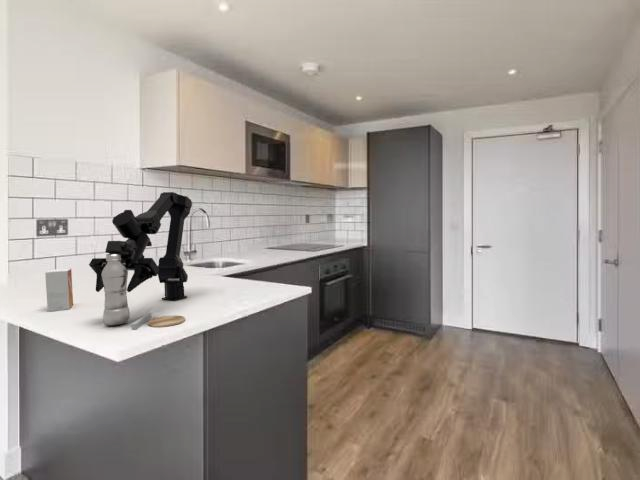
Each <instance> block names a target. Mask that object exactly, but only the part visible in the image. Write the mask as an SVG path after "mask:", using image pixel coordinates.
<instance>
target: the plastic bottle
mask: <svg viewBox="0 0 640 480" xmlns="http://www.w3.org/2000/svg"><path fill="white" fill-rule="evenodd" d="M105 258H106V261H107V264H106V266H105V267H104V269H103V270H102V280H103V285H104V287H103V292H104V309H103V314H102V318H103V322H104V323H105V325H107V326H120V325H123V324H126V323H128V322H129V320H130V317H131V312H130V308H129V306H128V305H129V304H128V303H129V302H128V296H127V295H128V294H127V293H128V291H127V287H128V285H127V284H128V275H129V271H127V269H126V267H125V266H124V265H123V264H122V263H121V260H122V258H121V254H109V253H106V254H105Z"/></svg>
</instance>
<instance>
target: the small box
mask: <svg viewBox="0 0 640 480" xmlns="http://www.w3.org/2000/svg"><path fill="white" fill-rule="evenodd" d="M44 273H45V290H46V306H47V307H46V309H47V312H57V311H64V310H70V309H71V308H72V306H73V305H74V297H73V295H74V294H73V275H72V274H73V273H72V268H57V269H49V270H47V271H46V272H44Z"/></svg>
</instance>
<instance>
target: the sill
mask: <svg viewBox="0 0 640 480" xmlns="http://www.w3.org/2000/svg"><path fill="white" fill-rule="evenodd" d="M152 317H153V316H152V312H146V313H145V314H144V315H142V316H141V317H139V318H138V319H136V320H135V321H133V322H132V323H131V330H132V331H133V330H137V329H139V328H140V327H141V326H143V324H145V323H146V322H148V321H149V320H151V319H153V318H152Z"/></svg>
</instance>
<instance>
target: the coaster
mask: <svg viewBox="0 0 640 480" xmlns="http://www.w3.org/2000/svg"><path fill="white" fill-rule="evenodd" d="M185 321H186V317H185V316H183V315H178V314H177V315H176V314H175V315H174V314H173V315H172V314H171V315H162V316H158V317H157V316H156V317H153V318H150V319H149V320H148V321H146V322H147V324H146V325H147V326H149V327H152V328H166V327H174V326H178V325H180V324H182V323H185Z"/></svg>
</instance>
